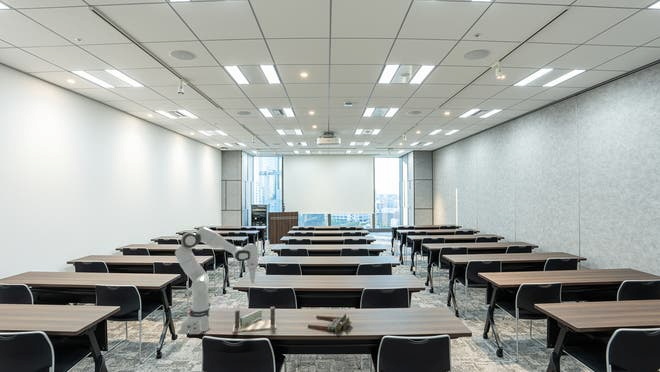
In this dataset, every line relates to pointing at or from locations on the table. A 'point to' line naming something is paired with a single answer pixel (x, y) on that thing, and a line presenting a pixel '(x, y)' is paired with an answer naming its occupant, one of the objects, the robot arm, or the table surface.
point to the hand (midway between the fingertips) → (252, 281)
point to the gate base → (254, 323)
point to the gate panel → (250, 317)
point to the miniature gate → (333, 323)
